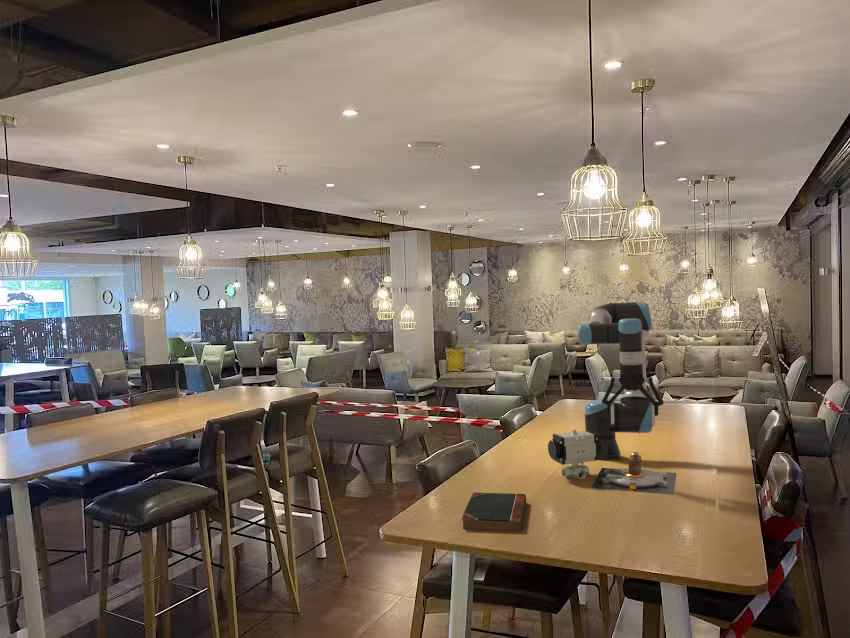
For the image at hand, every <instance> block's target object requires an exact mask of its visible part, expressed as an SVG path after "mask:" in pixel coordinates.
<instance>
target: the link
mask: <svg viewBox="0 0 850 638" xmlns="http://www.w3.org/2000/svg"><path fill="white" fill-rule="evenodd" d="M628 468H629V474H635V475H640V472H641V469H642V455H640V454H639V455H632V454H631V455H630V456H629V459H628Z"/></svg>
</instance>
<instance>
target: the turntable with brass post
mask: <svg viewBox="0 0 850 638" xmlns="http://www.w3.org/2000/svg"><path fill="white" fill-rule="evenodd" d="M631 455H640V453H639V452H638V451H633V452H631ZM612 469H613V468H611V469H606V470H605V474H607V477H602V482H603V483H613V484H616V485H619V486H625V487H630V489H634V490H636V488H645V487H654V486H661V487H665V486H667V481H663V478H667V473H666V472H667V471H656V472H655V470H651V469H646V468H641V472H640V475H635V474H629V467H624V468H614V469H615V470H612Z"/></svg>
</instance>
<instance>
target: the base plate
mask: <svg viewBox="0 0 850 638" xmlns="http://www.w3.org/2000/svg"><path fill="white" fill-rule="evenodd" d="M606 469H612V470H615V469H616V468H611V467H610V468H609V467H601V468H600V470H599V472H598V474H597V475H596V477H595V479H594V481H593V483H592V484H591V487H590V489H595V490H596V489H599V490H609V491H622V492H636V493H648V494H649V493H650V494H658V495H659V494H660V495H671V496H673V495H674V493H675V492H674V491H675V485H676V478H677V472H670V471H669V472H668V471H665V472H666V473H667V478H663V481H667V486H665V487H661V486H654V487H645V488H636V490H634V489H630V487H625V486H619V485H616V484H613V483H603V482H602V477H607V474H605V470H606ZM654 471H655V470H654ZM655 472H657V470H656V471H655Z"/></svg>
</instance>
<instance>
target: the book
mask: <svg viewBox="0 0 850 638" xmlns="http://www.w3.org/2000/svg"><path fill="white" fill-rule="evenodd" d="M526 504H527V496H526V494H525V493H503V492H502V493H500V492H498V493H497V492H472V494H471V496H470V498H469V501H468V503H467V505H466V506H465V509H464V511H463V515H462V516H461V519H460V520H461V521H462V529H464V530H465V529H466V530H490V531H491V530H492V531H493V530H494V531H495V530H496V531H516V532H518V531H519V532H521V530H522V528H523V523H524V517H525V511H526Z"/></svg>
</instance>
